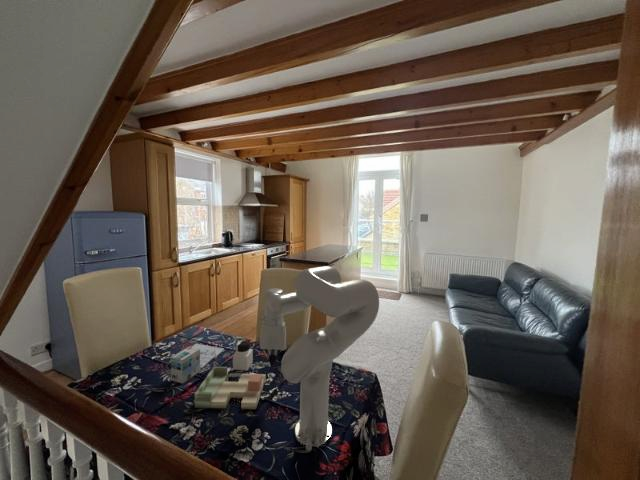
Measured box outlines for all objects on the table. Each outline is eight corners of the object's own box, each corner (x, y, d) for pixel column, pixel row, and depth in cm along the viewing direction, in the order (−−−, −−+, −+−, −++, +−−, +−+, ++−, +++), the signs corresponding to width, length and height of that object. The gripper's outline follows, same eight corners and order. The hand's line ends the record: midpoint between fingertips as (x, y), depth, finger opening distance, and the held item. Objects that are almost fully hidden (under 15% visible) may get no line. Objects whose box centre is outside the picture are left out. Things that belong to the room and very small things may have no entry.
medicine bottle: (252, 362, 131) (252, 339, 130) (247, 371, 124) (247, 346, 123) (238, 361, 132) (238, 338, 130) (232, 369, 124) (232, 345, 123)
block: (259, 391, 106) (259, 381, 106) (248, 390, 106) (248, 381, 106) (261, 384, 111) (261, 374, 110) (251, 383, 111) (251, 374, 110)
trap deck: (255, 409, 100) (255, 395, 99) (194, 407, 100) (194, 393, 99) (265, 379, 118) (265, 367, 117) (213, 378, 118) (213, 366, 117)
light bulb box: (182, 384, 113) (182, 360, 112) (170, 380, 115) (169, 357, 114) (201, 370, 123) (200, 348, 122) (189, 367, 125) (189, 345, 124)
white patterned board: (167, 364, 128) (167, 360, 128) (196, 345, 148) (196, 341, 148) (201, 370, 124) (201, 366, 124) (226, 350, 143) (226, 346, 143)
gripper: (253, 322, 102) (252, 367, 104) (291, 324, 102) (290, 369, 104) (257, 315, 110) (256, 356, 112) (293, 316, 110) (292, 358, 112)
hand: (272, 362), depth 108 cm, fingers closed
